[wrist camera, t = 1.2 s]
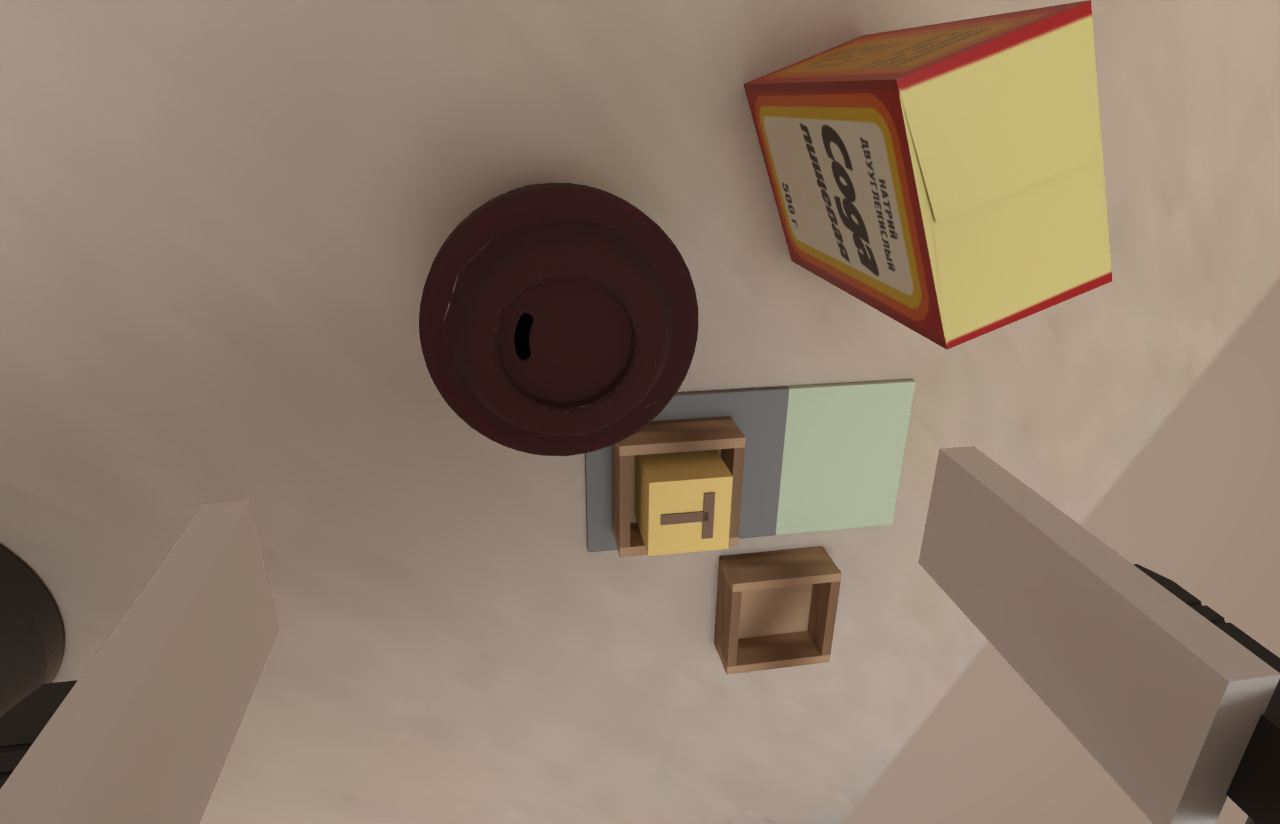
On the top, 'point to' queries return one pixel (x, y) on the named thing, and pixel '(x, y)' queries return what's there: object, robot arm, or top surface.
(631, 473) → the box
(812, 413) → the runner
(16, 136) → the top surface
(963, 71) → the baking soda box
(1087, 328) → the top surface
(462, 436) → the top surface
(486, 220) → the coffee cup
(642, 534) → the letter cube
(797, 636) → the box
